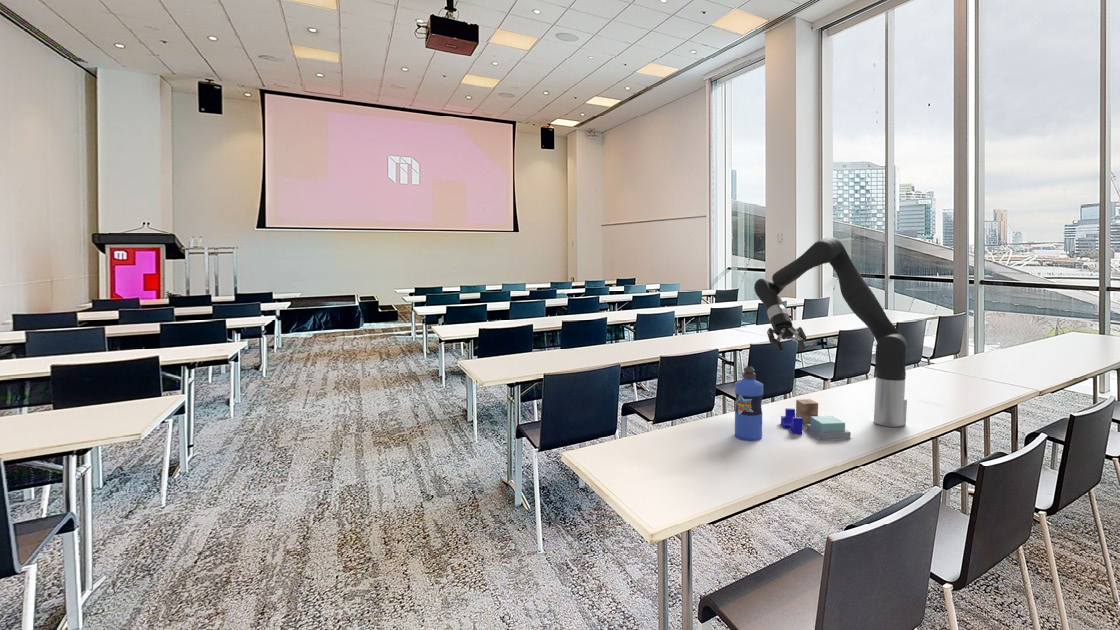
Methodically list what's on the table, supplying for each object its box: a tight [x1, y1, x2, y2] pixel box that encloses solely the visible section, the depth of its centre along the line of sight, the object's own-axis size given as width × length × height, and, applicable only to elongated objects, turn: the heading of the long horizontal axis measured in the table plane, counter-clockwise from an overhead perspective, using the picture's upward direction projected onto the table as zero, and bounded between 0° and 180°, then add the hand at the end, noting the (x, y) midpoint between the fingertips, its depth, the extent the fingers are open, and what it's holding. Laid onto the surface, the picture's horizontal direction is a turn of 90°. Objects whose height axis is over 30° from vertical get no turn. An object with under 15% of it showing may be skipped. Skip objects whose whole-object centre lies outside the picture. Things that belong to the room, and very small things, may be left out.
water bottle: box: [734, 365, 764, 442], centre depth 184 cm, size 9×9×25 cm
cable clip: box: [780, 408, 804, 435], centre depth 193 cm, size 12×4×6 cm, turn 170°
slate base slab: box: [806, 424, 852, 441], centre depth 186 cm, size 10×10×3 cm
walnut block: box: [795, 398, 819, 426], centre depth 199 cm, size 6×6×8 cm
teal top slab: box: [810, 415, 846, 432], centre depth 186 cm, size 8×8×3 cm
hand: (792, 350), depth 208 cm, fingers open, 8 cm apart
